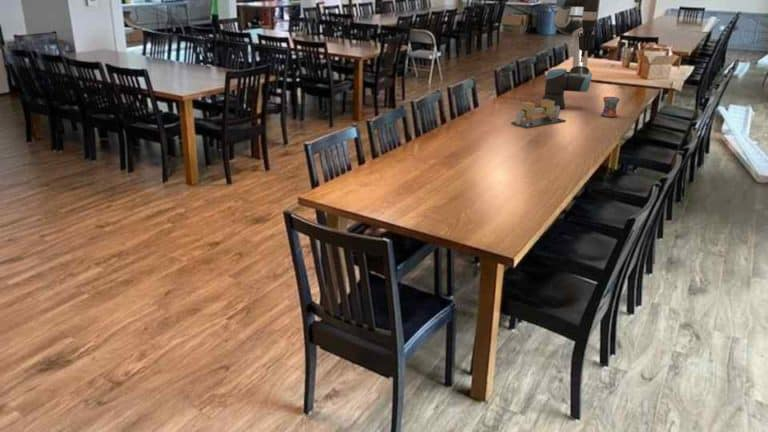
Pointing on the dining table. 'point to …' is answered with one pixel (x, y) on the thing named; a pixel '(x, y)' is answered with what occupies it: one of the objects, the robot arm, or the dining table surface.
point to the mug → (610, 106)
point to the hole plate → (539, 122)
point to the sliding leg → (547, 107)
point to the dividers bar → (530, 108)
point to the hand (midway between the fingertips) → (583, 62)
